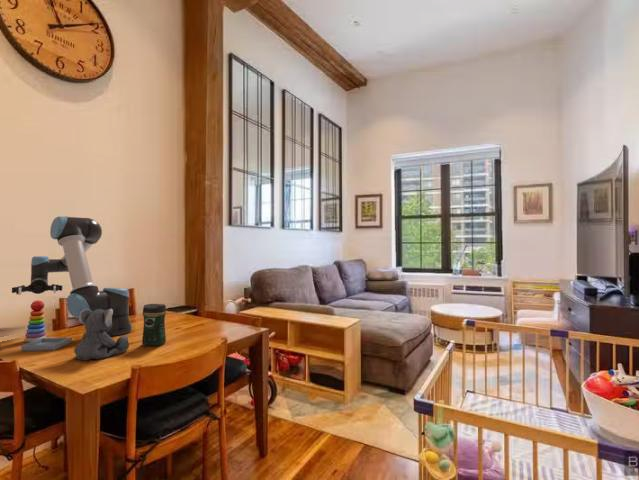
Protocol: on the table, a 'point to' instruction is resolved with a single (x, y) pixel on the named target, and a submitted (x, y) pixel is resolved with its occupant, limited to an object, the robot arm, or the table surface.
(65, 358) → the table surface
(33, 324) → the stacking toy
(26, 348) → the tray
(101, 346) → the koala plush
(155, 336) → the coffee jar
